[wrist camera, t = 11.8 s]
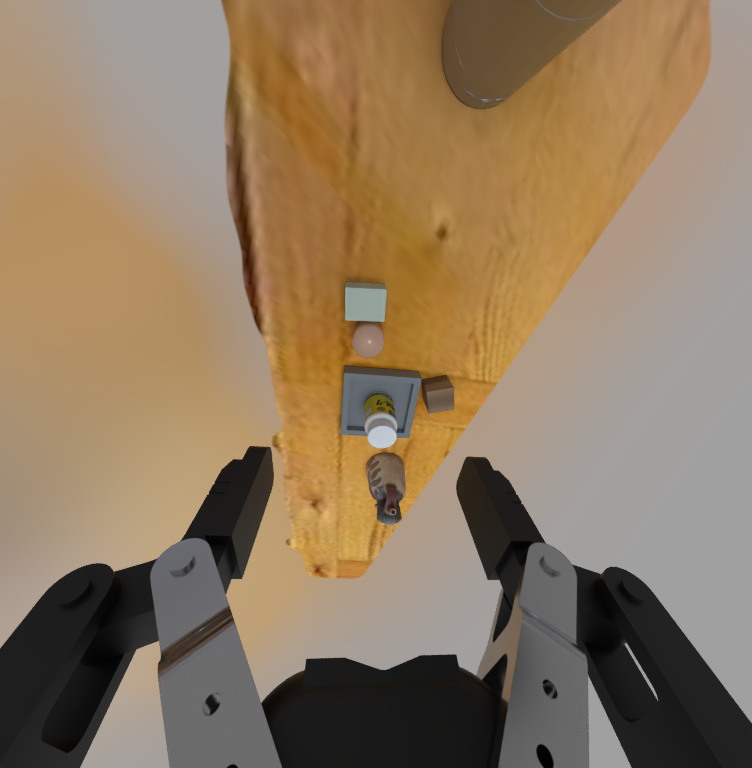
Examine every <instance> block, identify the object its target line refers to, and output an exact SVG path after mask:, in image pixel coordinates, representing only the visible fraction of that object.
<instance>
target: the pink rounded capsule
mask: <svg viewBox="0 0 752 768" xmlns="http://www.w3.org/2000/svg"><path fill="white" fill-rule="evenodd" d="M383 346H384V338H383V327H382V325H381V323H380V322H376V321H359V322H358V324H357V325H356V329H355V333H354V337H353V348H354V350H355V352H356V353H357V354H358V355H360V356H362V357H365V358H372V357H375V356H377V355H378V354H379V353H380V352H381V351H382V349H383Z"/></svg>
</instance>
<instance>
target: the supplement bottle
mask: <svg viewBox="0 0 752 768" xmlns="http://www.w3.org/2000/svg"><path fill="white" fill-rule="evenodd" d="M364 427H365V431H366V433H367V437H368V441H369V443H370V444H371V445H372V446H374V447H376V448H386V447H389V446H391V445H392V444H393V443H394V442H395V441H396V438H397V435H396V430H397V419H396V414H395V409H394V403H393V400H392V398H391V397H390V396H389V395H388V394H386V393H383V392H374V393H372V394H370V395H369V396H368V397H367V398H366V399H365V402H364Z"/></svg>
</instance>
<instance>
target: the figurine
mask: <svg viewBox="0 0 752 768" xmlns="http://www.w3.org/2000/svg"><path fill="white" fill-rule="evenodd" d="M366 472H367V478H368V483H369V490H370V493H371V495H372V497H373V498H374V499H375V500H376V501H377V504H376V505H375V507H376V508H377V520H378V521H380V522H382V523H385V524H386V525H394V524H395V523H398V522H399V521H400V520H401V519H402V517H401V513H400V507H399V502H400V501H401V500H402V499H403V497H404V494H405V471H404V465H403V463H402V461H401V459H400V458H399V457H398V456H396V455H394V454H392V453H380V454H377V455H374V456H373V457H372V458H371V459H370V460H369V461H368V463H367V466H366Z"/></svg>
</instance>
